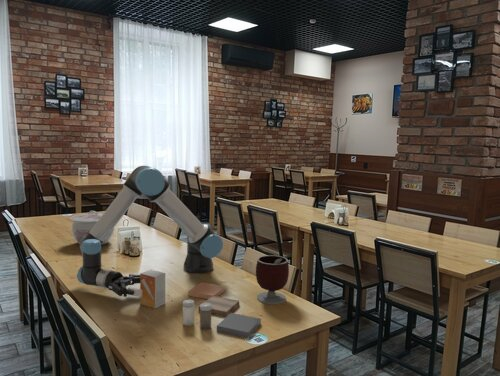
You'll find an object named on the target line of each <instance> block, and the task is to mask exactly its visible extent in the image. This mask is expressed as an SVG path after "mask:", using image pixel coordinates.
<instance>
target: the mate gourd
mask: <svg viewBox="0 0 500 376" xmlns="http://www.w3.org/2000/svg"><path fill="white" fill-rule="evenodd" d="M289 275H290V266H289V259H288V258H287V257H284V256H280V255H272V254H270V255H269V254H267V255H261V256H258V258H257V261H256V266H255V279H256V282H257V284H258V285H259V287H260V288H261V289H263V290H266V291H263V292H261V293H259V294H257V296H256V300H257V301H258V302H260V303H262V304H265V305H280V304H283V303H284V302H286V301H287V297H286V295H285V294H283V293H280V292H278V291H280V290H282V289H284V287H285V286H286V285H287V284H288V280H289ZM276 291H277V292H276Z"/></svg>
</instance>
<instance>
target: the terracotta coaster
mask: <svg viewBox="0 0 500 376" xmlns="http://www.w3.org/2000/svg"><path fill="white" fill-rule="evenodd" d="M224 292H226V286H224V285H219V284H215V283H207V282H203V281H202V282H200V283H198V284H196V285H195V286H193V287H192V288H190V289H189V290H187V296H189V297H194V298H199V299H203V300H204V299H205V300H208V299H209V298H210V297H212V296H217V297H220V296H221V295H222V294H223V293H224Z"/></svg>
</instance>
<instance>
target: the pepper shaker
mask: <svg viewBox="0 0 500 376" xmlns="http://www.w3.org/2000/svg"><path fill="white" fill-rule="evenodd" d="M199 306H200V311H199V328H200V329H201V330H204V331H207V330H210V329H211V328H212V314H211V309H212V305H211V304H210V303H204V302H203V303H200V305H199Z"/></svg>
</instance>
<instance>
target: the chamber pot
mask: <svg viewBox="0 0 500 376" xmlns="http://www.w3.org/2000/svg"><path fill="white" fill-rule="evenodd" d="M103 214H104V212H97V211H95V210H89V212H86V213H85V212H84V213H79V214H74V215H72V216H69V218H68V220H69V221H71V222H73V223H72V224H71V233H72V236H73V238H74V240H75V241H76V242H77V243H78V244H79V245H80V241H81V239H82V238H84V237H86V236H87V234H88V233H89V232H90V231H91V229H92V228H93V227H94V225H95V224H96V223H97V222H98V220H99V219H100V218H101V216H102V215H103ZM114 231H115V227H114V228H113V229H112V231H111V232H110V233H109V235H108V236H107V237H106V238H105V240H104V241H103V243H102V244H101V246H102V245H105V244H108V243H109V242H110V240H111V238H112V237H113V235H114Z"/></svg>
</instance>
